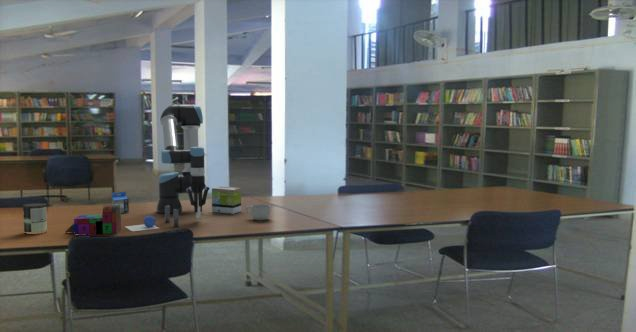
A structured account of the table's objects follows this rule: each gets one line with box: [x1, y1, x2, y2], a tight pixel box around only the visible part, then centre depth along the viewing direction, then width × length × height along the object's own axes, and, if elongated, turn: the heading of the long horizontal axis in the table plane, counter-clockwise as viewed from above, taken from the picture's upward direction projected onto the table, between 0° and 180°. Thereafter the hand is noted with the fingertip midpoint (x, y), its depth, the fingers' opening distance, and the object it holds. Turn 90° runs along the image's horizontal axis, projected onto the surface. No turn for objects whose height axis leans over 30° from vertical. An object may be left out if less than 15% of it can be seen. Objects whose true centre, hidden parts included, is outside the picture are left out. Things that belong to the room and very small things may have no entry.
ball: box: [143, 215, 156, 227], centre depth 287 cm, size 6×6×6 cm
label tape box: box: [111, 191, 130, 214], centre depth 328 cm, size 9×4×12 cm, turn 131°
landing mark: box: [124, 223, 160, 232], centre depth 285 cm, size 14×14×1 cm
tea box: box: [211, 186, 242, 215], centre depth 333 cm, size 15×10×15 cm
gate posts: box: [164, 206, 180, 228], centre depth 294 cm, size 16×3×9 cm, turn 35°
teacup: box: [244, 203, 271, 222], centre depth 309 cm, size 14×11×8 cm
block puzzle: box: [65, 203, 122, 236], centre depth 275 cm, size 25×17×14 cm
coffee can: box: [22, 202, 48, 232], centre depth 272 cm, size 10×10×14 cm
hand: (198, 217), depth 303 cm, fingers closed
